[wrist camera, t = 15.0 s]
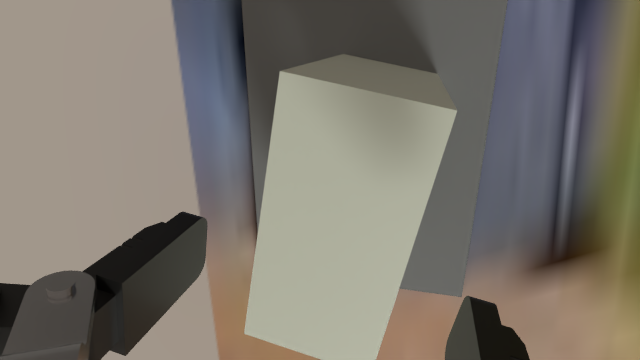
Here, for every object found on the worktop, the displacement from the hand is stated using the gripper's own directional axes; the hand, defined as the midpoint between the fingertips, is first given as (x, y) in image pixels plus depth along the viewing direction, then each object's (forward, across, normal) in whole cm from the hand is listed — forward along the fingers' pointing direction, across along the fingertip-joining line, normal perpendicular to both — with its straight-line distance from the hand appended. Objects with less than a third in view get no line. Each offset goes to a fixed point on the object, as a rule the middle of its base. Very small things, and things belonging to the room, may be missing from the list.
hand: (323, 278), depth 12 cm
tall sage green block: (+10, +1, +7) cm, 12 cm away
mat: (+17, +1, +1) cm, 17 cm away
